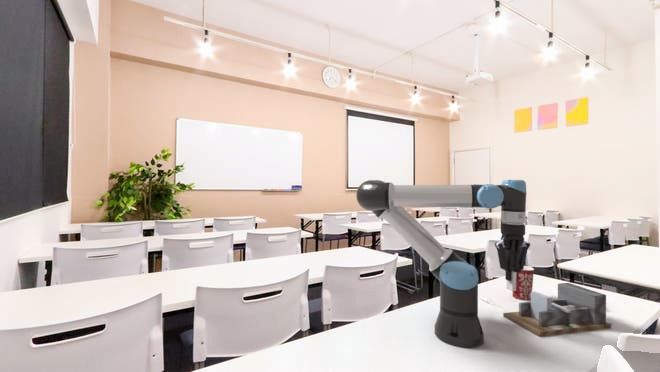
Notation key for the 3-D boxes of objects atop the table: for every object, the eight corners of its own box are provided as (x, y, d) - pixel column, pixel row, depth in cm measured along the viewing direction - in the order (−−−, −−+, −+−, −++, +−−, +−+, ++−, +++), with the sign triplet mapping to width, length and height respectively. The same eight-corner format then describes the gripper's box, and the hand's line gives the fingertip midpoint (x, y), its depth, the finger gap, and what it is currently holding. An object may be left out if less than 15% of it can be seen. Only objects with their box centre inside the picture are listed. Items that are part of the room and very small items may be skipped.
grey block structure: (539, 336, 103) (539, 302, 103) (503, 316, 119) (503, 286, 119) (611, 328, 109) (611, 295, 109) (567, 310, 125) (567, 281, 125)
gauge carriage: (556, 328, 105) (556, 302, 105) (530, 315, 116) (530, 291, 116) (577, 326, 107) (577, 300, 107) (549, 314, 118) (549, 290, 118)
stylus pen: (476, 298, 139) (476, 294, 138) (481, 297, 139) (481, 293, 139) (503, 313, 124) (503, 308, 124) (508, 312, 125) (508, 308, 125)
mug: (520, 293, 145) (520, 264, 145) (539, 299, 136) (539, 269, 136) (499, 296, 141) (499, 266, 141) (516, 303, 133) (517, 271, 133)
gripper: (505, 224, 105) (503, 294, 105) (537, 224, 108) (535, 292, 108) (489, 221, 113) (487, 286, 113) (520, 221, 115) (518, 285, 115)
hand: (511, 289), depth 110 cm, fingers closed
